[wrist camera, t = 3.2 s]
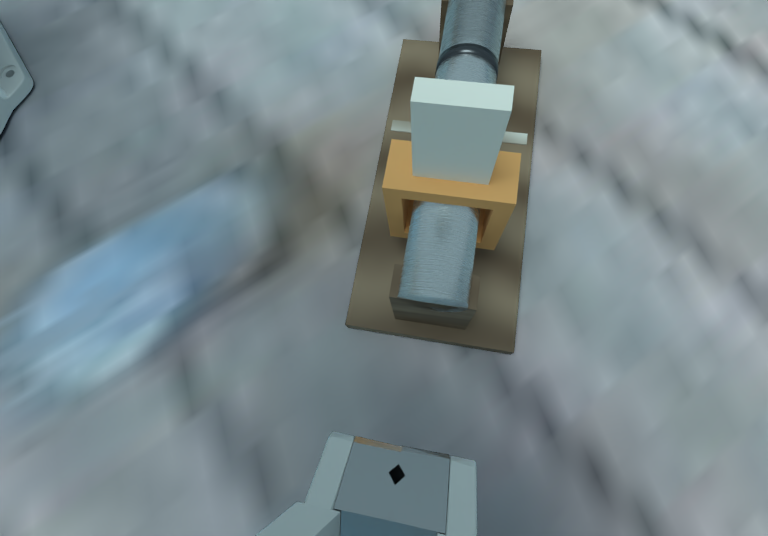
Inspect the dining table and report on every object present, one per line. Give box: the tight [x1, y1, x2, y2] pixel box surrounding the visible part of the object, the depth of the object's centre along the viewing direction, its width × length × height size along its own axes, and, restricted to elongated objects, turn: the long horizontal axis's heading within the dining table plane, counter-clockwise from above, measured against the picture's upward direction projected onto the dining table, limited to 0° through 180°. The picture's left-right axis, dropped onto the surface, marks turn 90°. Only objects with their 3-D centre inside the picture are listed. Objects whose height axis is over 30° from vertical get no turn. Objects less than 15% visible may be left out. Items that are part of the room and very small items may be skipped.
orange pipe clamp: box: [382, 77, 521, 250], centre depth 24 cm, size 3×7×13 cm, turn 80°
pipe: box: [397, 0, 506, 312], centre depth 28 cm, size 24×4×4 cm, turn 170°
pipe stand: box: [345, 0, 541, 354], centre depth 32 cm, size 26×12×8 cm, turn 170°
